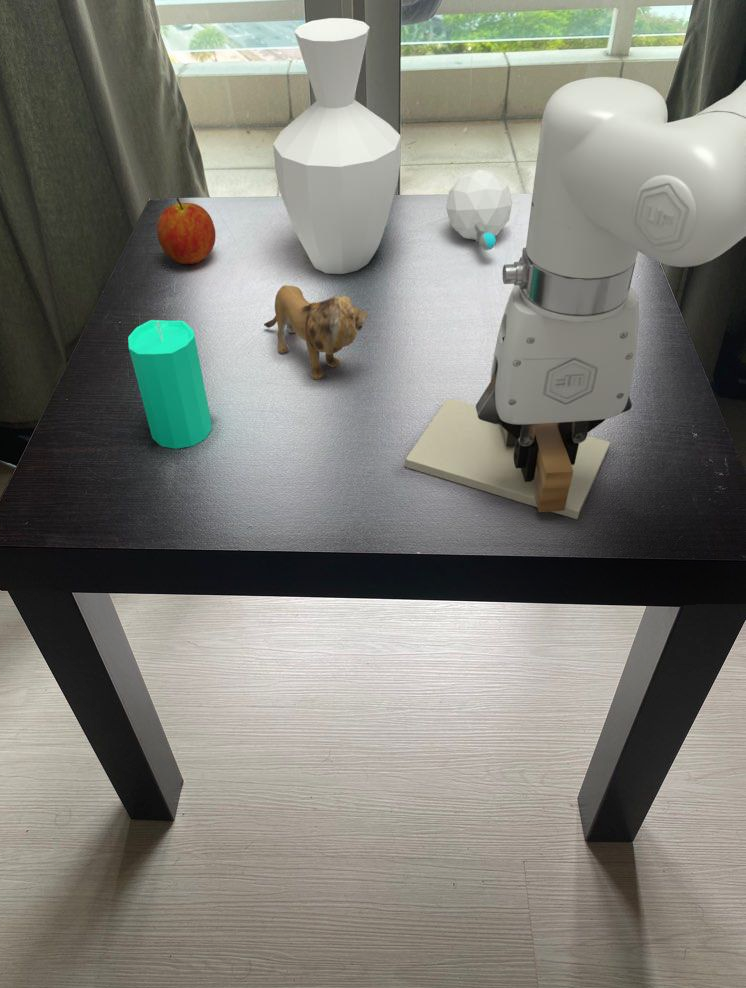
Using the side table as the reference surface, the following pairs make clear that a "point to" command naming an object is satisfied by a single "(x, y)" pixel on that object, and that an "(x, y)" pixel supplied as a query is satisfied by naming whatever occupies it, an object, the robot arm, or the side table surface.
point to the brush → (549, 467)
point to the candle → (170, 382)
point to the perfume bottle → (479, 206)
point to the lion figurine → (316, 324)
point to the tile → (494, 458)
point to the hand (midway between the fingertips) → (542, 468)
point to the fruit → (186, 232)
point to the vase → (337, 154)
